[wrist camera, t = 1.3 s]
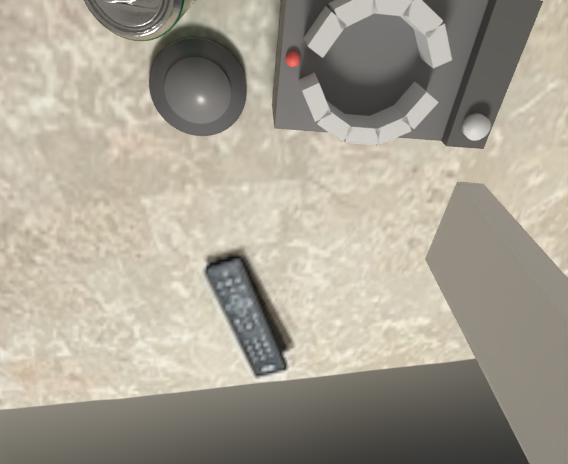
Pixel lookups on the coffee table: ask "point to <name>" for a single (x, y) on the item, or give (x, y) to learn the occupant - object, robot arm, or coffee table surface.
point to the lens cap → (198, 86)
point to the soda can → (138, 16)
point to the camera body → (398, 67)
